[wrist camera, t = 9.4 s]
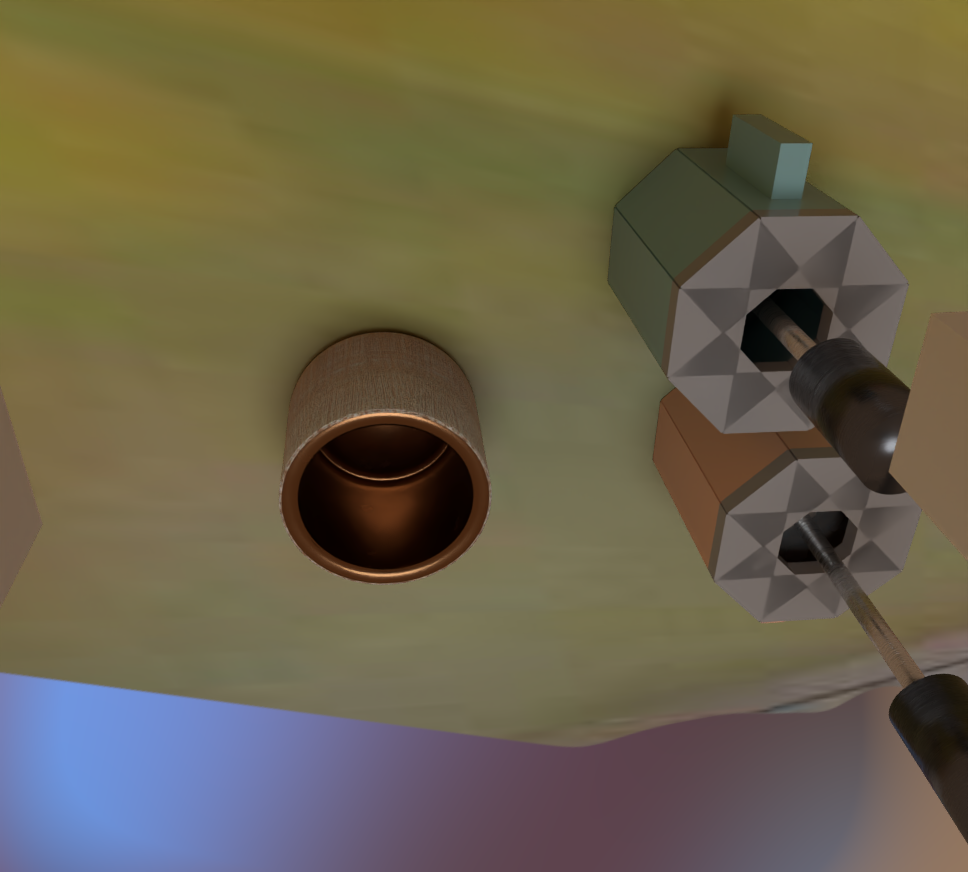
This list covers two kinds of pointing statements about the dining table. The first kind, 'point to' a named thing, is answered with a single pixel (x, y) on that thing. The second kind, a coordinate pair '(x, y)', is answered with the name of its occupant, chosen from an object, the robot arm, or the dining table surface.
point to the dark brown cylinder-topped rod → (843, 396)
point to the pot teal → (746, 273)
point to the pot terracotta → (775, 512)
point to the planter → (383, 461)
